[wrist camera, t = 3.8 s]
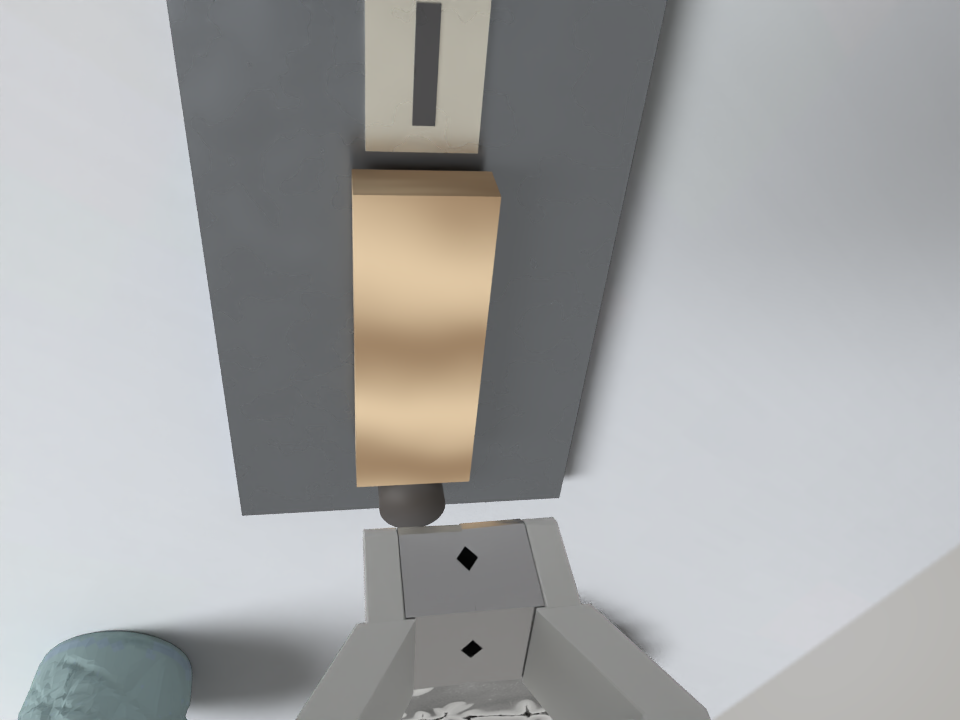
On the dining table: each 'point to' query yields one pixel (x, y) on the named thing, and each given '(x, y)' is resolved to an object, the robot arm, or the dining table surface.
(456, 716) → the brain section slice
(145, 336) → the dining table surface
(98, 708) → the teal textured cup
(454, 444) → the swing bar
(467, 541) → the robot arm
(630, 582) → the dining table surface
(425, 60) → the gray base panel
